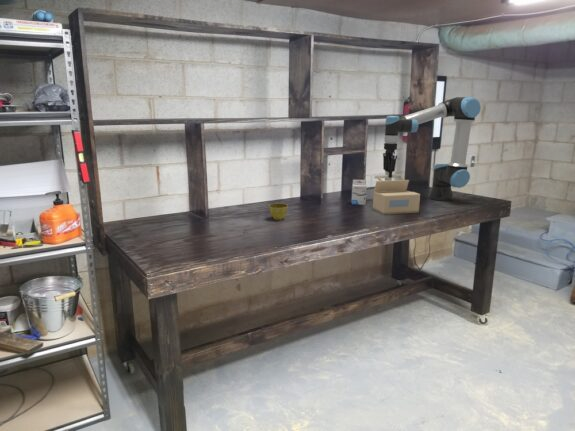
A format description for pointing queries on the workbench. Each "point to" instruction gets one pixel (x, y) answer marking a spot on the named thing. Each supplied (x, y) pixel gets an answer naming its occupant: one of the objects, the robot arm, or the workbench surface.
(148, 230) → the workbench surface
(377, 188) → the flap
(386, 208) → the carton
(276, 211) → the flower pot
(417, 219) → the workbench surface
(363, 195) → the ink box
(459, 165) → the robot arm
